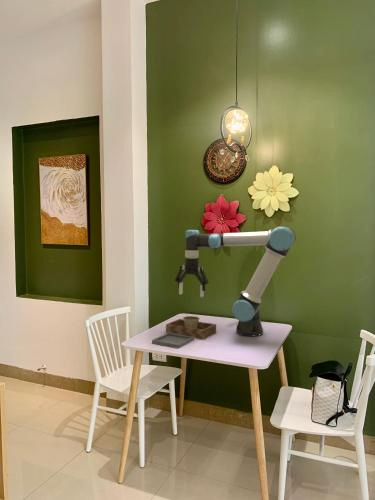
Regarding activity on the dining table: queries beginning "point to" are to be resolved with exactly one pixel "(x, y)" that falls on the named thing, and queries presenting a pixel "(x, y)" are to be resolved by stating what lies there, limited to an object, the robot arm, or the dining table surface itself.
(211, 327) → the walled box
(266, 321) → the dining table surface
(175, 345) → the tray
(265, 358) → the dining table surface
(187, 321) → the flower pot
